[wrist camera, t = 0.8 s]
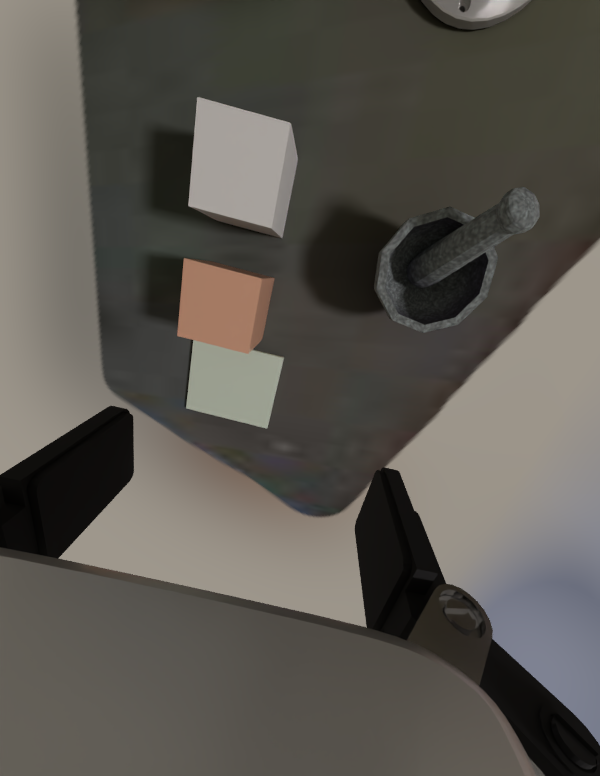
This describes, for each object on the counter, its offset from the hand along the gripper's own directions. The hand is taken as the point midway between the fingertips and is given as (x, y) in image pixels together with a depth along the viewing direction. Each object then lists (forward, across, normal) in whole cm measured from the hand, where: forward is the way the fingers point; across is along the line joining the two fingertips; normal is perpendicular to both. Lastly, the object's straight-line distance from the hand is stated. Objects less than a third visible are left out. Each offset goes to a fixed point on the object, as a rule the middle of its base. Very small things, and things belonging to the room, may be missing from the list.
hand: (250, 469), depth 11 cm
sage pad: (+25, +7, +8) cm, 27 cm away
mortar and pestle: (+25, -11, -10) cm, 29 cm away
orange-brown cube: (+25, +8, -2) cm, 26 cm away
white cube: (+25, +7, -13) cm, 29 cm away
